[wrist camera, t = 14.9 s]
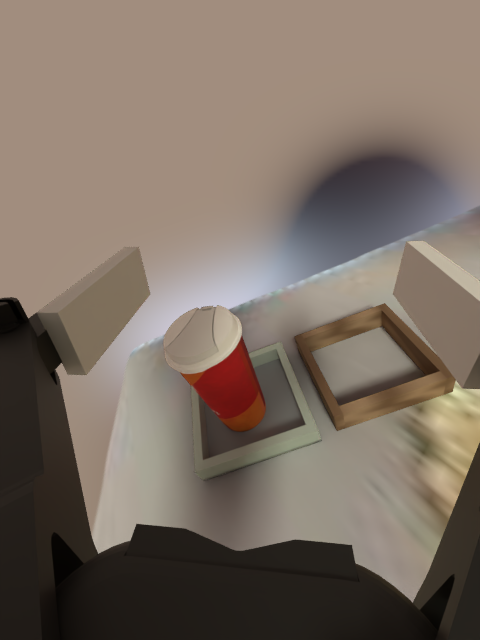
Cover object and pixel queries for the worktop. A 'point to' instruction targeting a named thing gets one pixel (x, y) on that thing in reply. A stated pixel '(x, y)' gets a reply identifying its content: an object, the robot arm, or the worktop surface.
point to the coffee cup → (217, 365)
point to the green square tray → (269, 435)
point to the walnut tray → (387, 400)
